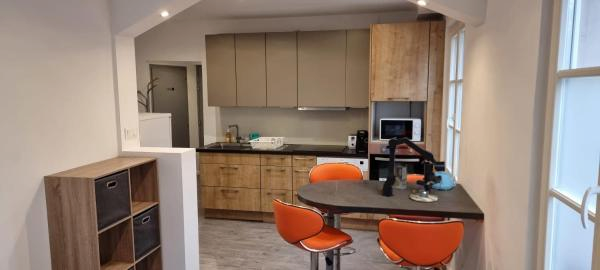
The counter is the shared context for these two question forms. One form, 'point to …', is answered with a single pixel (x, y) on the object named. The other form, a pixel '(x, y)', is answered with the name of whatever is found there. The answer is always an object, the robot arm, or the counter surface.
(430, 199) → the turntable
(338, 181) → the counter surface
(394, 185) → the coffee box
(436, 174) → the decorative pot
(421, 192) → the cover
